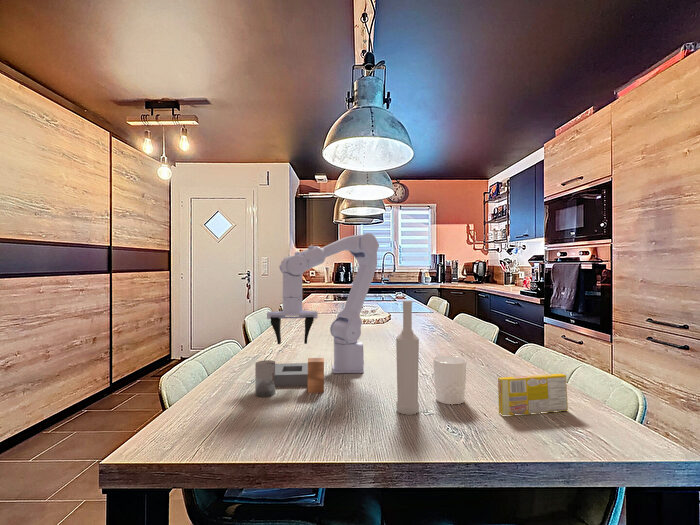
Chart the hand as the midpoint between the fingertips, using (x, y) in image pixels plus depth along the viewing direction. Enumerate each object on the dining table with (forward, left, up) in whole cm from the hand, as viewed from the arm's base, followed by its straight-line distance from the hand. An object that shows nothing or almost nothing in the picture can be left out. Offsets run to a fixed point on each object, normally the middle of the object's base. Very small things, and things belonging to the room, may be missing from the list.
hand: (292, 343), depth 107 cm
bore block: (0, 0, -10) cm, 10 cm away
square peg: (-7, +10, -10) cm, 16 cm away
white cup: (-40, +20, -11) cm, 46 cm away
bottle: (-28, +26, -11) cm, 40 cm away
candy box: (-56, +29, -11) cm, 64 cm away
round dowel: (+6, +12, -10) cm, 17 cm away
